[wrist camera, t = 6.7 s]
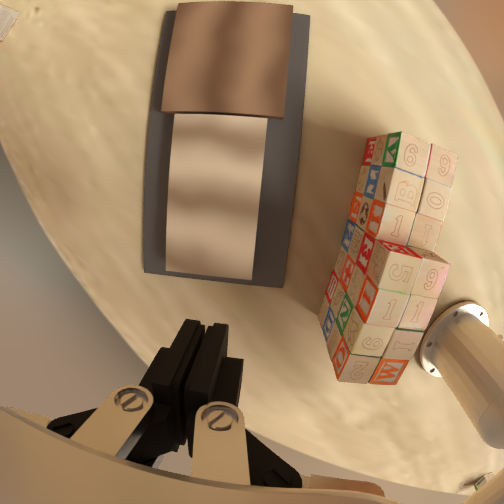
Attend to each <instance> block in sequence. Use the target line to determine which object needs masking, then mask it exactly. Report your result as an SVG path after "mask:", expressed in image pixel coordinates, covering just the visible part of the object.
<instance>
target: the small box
mask: <svg viewBox="0 0 504 504" xmlns="http://www.w3.org/2000/svg"><path fill="white" fill-rule="evenodd" d="M19 15H20V12H18V11H16V10H14V9H11V8H9V7H7V6H4V5H2V4H0V41H3V40H4V38H5V37H6V35H7V33H8V32H9V30H10V29H11V27H12V26H13V24H14V22H15V21H16V19H17V18H18V17H19Z"/></svg>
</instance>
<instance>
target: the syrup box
mask: <svg viewBox="0 0 504 504" xmlns="http://www.w3.org/2000/svg"><path fill="white" fill-rule="evenodd" d="M493 477H494V474H493V473H489V474H486V475H484V476H483V477H482V478H481V479H480V480H478V481H477V482H476V483H475V484H474V487H475V489H476V491H477V490H479V489H480V488H481V487H482V486H483V485H485V484H486V483H487V482H488V481H489V480H491V479H492V478H493Z"/></svg>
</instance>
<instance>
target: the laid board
mask: <svg viewBox="0 0 504 504" xmlns="http://www.w3.org/2000/svg"><path fill="white" fill-rule="evenodd" d="M292 15H293V6H292V5H284V4H273V3H260V2H235V1H214V2H190V3H179V4H178V8H177V13H176V18H175V23H174V28H173V33H172V39H171V44H170V50H169V56H168V63H167V69H166V76H165V83H164V91H163V99H162V107H161V111H162V112H164V113H166V114H210V115H231V116H245V117H258V118H268V119H277V120H283V118H284V109H285V98H286V87H287V76H288V64H289V53H290V41H291V28H292Z"/></svg>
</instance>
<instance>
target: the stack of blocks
mask: <svg viewBox="0 0 504 504" xmlns="http://www.w3.org/2000/svg"><path fill="white" fill-rule="evenodd" d="M457 159H458V155H456V154H454V153H452V152H450V151H448V150H446V149H443V148H441V147H439V146H437V145H435V144H431V143H429V142H427V141H424V140H422V139H420V138H417V137H414V136H412V135H409V134H407V133H404V132H395V133H389V134H388V135H382V136H377V137H371V138H368V140H367V145H366V150H365V155H364V160H363V165H362V166H361V169H360V173H359V177H358V182H357V186H356V191H355V194H354V197H353V201H352V205H351V208H350V212H349V216H348V218H349V219H348V222H347V226H346V229H345V233H344V236H343V240H342V245H341V247H340V251H339V254H338V257H337V261H336V264H335V267H334V270H333V271H332V275H331V278H330V281H329V284H328V287H327V290H326V293H325V295H324V298H323V301H322V304H321V307H320V310H319V313H318V318H319V321H320V325H321V328H322V330H323V333H324V336H325V340H326V343H327V344H326V345H327V349H328V352H329V356H330V359H331V362H332V363H333V367H334V370H335V374H336V378H337V380H338V381H340V382H351V383H361V384H367V383H369V384H379V385H396V384H397V382H398V380H399V378H400V377H401V375H402V373H403V371H404V370H405V368H406V366H407V364H408V362H409V360H411V359H412V357H413V355H414V353H415V351H416V349H417V347H418V345H419V343H420V341H421V338H422V336H423V334H424V332H423V331H424V330H425V329H426V328H427V325H428V323H429V321H430V318H431V316H432V314H433V311H434V309H435V306H436V304H437V298H438V297H439V295H440V293H441V290H442V287H443V285H444V282H445V279H446V277H447V274H448V271H449V268H450V264H449V263H448V262H446V261H445V260H443V259H442V258H440V257H439V256H438V255H436V254H435V253H434V250H435V247H436V244H437V240H438V237H439V234H440V230H441V227H442V223H443V221H444V219H445V215H446V211H447V208H448V204H449V200H450V196H451V191H452V188H451V187H452V184H453V179H454V174H455V170H456V164H457Z"/></svg>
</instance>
